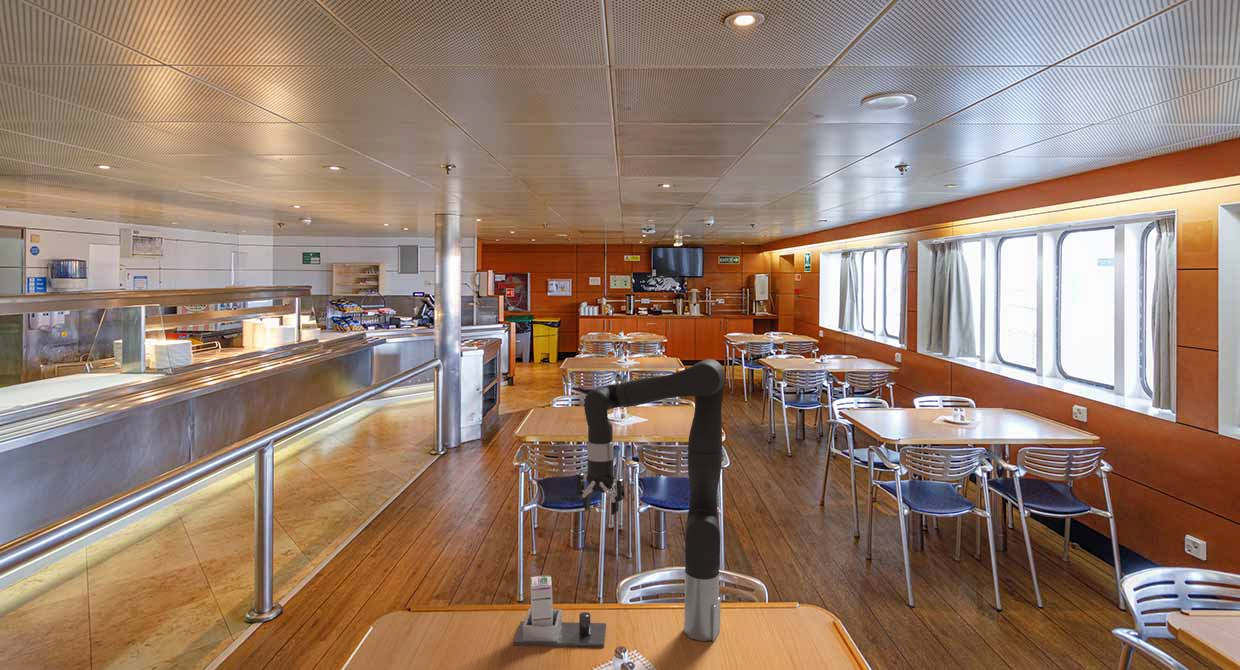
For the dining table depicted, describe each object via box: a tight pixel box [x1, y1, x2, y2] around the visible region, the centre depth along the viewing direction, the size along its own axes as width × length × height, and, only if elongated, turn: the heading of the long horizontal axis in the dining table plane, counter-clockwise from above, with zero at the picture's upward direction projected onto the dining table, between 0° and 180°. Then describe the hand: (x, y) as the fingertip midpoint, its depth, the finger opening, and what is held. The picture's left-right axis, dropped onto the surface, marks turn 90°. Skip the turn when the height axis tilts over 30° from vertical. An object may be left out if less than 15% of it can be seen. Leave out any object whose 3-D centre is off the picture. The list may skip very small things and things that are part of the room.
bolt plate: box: [513, 608, 607, 648], centre depth 171 cm, size 24×10×6 cm, turn 88°
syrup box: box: [530, 575, 554, 626], centre depth 170 cm, size 6×6×14 cm
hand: (600, 511), depth 181 cm, fingers open, 8 cm apart
